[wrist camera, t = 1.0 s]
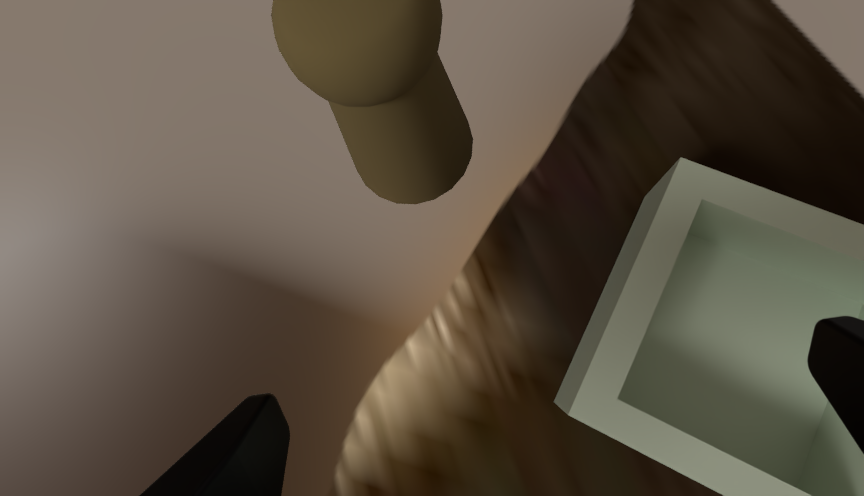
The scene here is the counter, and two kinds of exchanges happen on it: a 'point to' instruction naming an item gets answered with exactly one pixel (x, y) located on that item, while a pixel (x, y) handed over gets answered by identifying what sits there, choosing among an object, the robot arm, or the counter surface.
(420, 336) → the counter surface
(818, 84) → the counter surface
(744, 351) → the end cap socket
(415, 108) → the cork
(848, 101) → the counter surface
